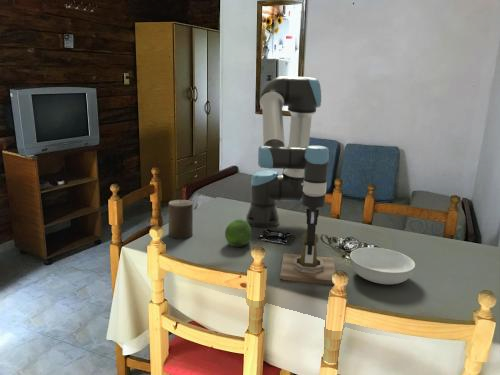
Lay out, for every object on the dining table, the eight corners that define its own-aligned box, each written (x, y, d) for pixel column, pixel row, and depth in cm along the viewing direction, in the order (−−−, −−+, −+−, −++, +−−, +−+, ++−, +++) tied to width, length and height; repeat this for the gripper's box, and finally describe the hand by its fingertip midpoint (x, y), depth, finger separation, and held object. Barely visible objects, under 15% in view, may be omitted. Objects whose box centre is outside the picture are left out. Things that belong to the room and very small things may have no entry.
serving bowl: (426, 288, 134) (429, 269, 133) (369, 296, 128) (371, 275, 127) (388, 261, 154) (390, 244, 152) (337, 267, 148) (338, 248, 146)
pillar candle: (185, 240, 166) (186, 204, 162) (164, 236, 169) (163, 201, 165) (196, 232, 175) (197, 198, 171) (175, 229, 178) (175, 195, 174)
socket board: (283, 257, 154) (284, 249, 153) (333, 261, 152) (333, 253, 151) (279, 279, 137) (280, 270, 136) (335, 285, 134) (336, 276, 134)
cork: (316, 268, 140) (319, 237, 137) (298, 266, 141) (300, 235, 139) (317, 261, 146) (320, 231, 143) (300, 259, 147) (302, 229, 144)
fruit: (234, 235, 173) (235, 212, 171) (257, 239, 170) (258, 215, 168) (220, 248, 160) (220, 223, 157) (244, 252, 156) (245, 227, 154)
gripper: (303, 186, 146) (298, 248, 152) (301, 200, 129) (296, 269, 135) (324, 187, 145) (319, 250, 151) (326, 201, 128) (320, 271, 134)
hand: (308, 259), depth 143 cm, fingers closed on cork, 5 cm apart
